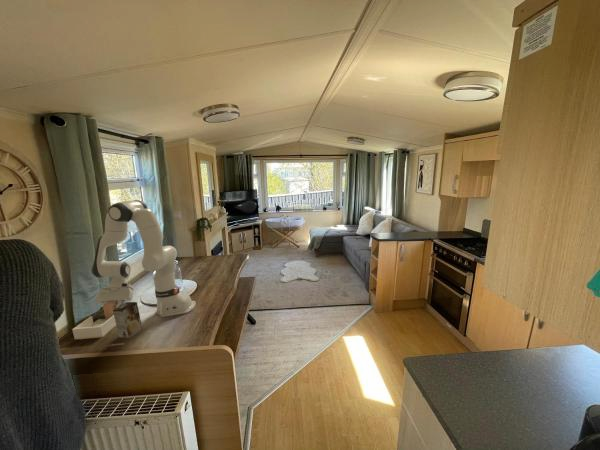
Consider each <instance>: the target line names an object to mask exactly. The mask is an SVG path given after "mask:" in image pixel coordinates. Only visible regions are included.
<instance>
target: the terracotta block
mask: <svg viewBox="0 0 600 450" xmlns="http://www.w3.org/2000/svg"><path fill="white" fill-rule="evenodd" d="M115 305H117V302H107V303H106V304H103V305H102V308H103V312H104V313H103V314H104V319H107V318H111V317H112V316H113V315H114V313H113V310H114V306H115Z"/></svg>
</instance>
